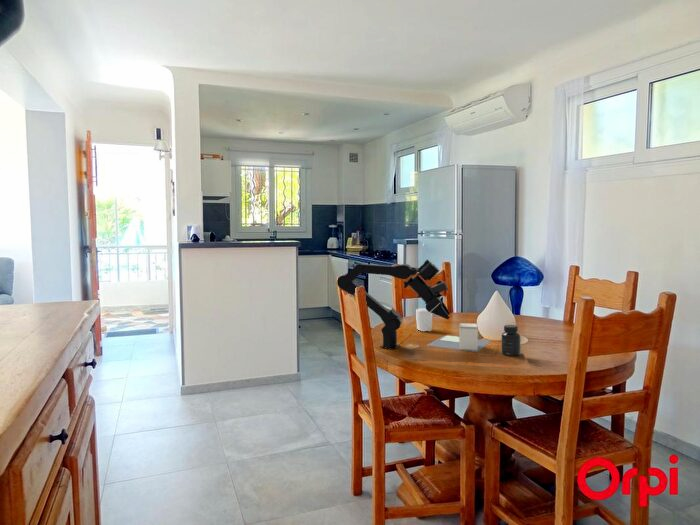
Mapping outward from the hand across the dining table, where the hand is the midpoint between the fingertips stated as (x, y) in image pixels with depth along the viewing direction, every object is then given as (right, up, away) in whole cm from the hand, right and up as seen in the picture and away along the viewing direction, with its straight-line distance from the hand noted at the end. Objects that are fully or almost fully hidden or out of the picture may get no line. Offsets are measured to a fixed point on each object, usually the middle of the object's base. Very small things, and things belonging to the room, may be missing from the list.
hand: (449, 316), depth 194 cm
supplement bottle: (+21, -14, -12) cm, 28 cm away
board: (+6, -13, +6) cm, 15 cm away
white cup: (-4, -11, +36) cm, 38 cm away
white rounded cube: (+8, -12, -1) cm, 14 cm away
